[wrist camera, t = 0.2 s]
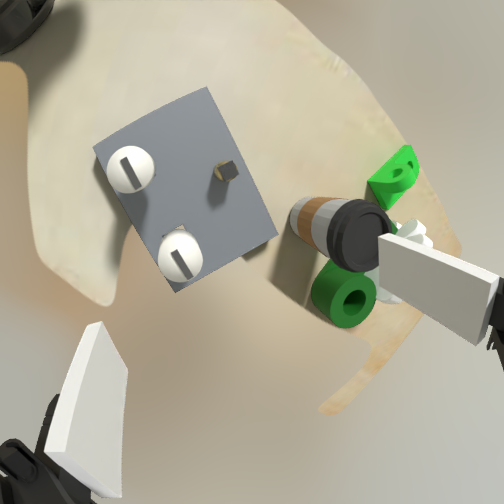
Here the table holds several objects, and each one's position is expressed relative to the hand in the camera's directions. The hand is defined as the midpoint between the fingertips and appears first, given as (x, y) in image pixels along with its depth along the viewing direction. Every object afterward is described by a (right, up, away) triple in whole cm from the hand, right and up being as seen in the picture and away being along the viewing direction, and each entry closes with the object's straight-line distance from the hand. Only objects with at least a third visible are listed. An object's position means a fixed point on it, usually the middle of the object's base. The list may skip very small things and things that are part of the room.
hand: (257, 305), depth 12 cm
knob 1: (-13, +12, +18) cm, 26 cm away
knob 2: (-9, +3, +22) cm, 24 cm away
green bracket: (+17, 0, +35) cm, 39 cm away
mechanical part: (+25, +16, +33) cm, 45 cm away
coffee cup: (+8, +8, +30) cm, 32 cm away
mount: (-9, +11, +24) cm, 28 cm away
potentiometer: (-4, +12, +22) cm, 26 cm away
